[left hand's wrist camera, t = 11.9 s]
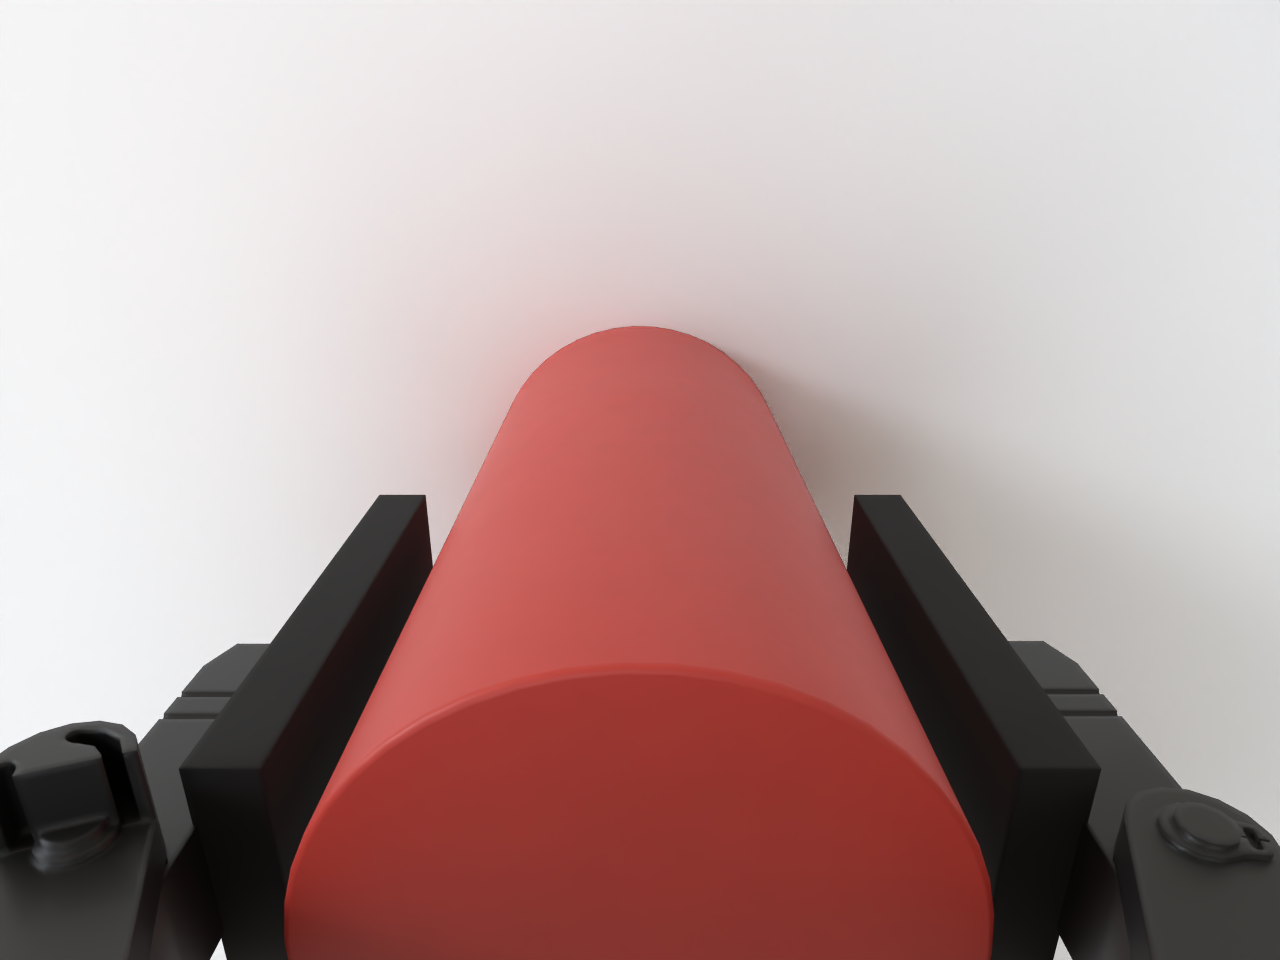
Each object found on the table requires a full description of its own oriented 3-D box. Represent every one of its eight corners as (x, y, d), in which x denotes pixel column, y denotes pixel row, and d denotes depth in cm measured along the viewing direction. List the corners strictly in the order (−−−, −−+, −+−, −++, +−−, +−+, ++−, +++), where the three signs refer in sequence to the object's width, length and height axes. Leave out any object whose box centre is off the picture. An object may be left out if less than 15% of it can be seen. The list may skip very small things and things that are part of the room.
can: (712, 276, 17) (856, 542, 6) (817, 524, 19) (1076, 1079, 8) (450, 398, 18) (129, 834, 7) (577, 622, 20) (496, 1246, 9)
